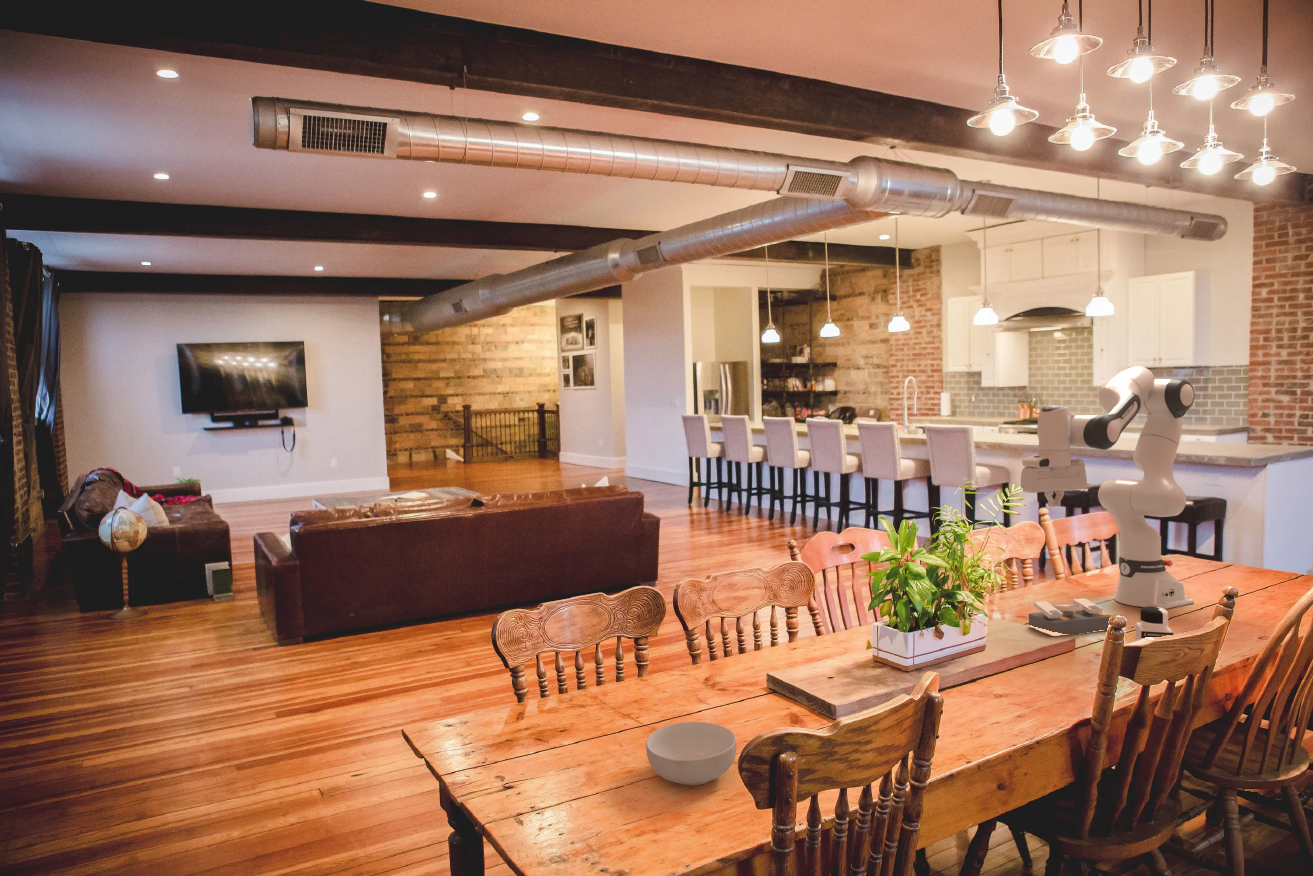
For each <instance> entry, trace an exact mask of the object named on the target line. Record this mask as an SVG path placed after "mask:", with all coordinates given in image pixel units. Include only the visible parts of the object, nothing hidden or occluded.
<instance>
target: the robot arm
mask: <svg viewBox="0 0 1313 876" xmlns="http://www.w3.org/2000/svg"><path fill="white" fill-rule="evenodd" d="M1195 395H1196V394H1195V389H1194V387H1193V384H1191V383H1190V381H1189V380H1187V379H1182V378H1155V376H1154V374H1153V372H1152V371H1151V370H1150V369H1148V368H1147V367H1145V366H1141V365H1135V366H1131V367H1128V368H1126V369H1124V370H1122V371H1120V372H1118V373H1117V374H1115V375H1113V376H1112V377H1111V378H1110V379H1108V380H1107V381H1105V383H1103V384H1102V385H1101V386H1100V389H1099V391H1098V400H1099V403H1100V405H1101V406H1102V408H1103V409H1104V410H1105V411H1106V412H1108V413H1107V414H1076V413H1075V412H1072V411H1071V410H1069V407H1068V405H1067V404H1062V403H1060V404H1059V403H1056V404H1048V405H1044V406H1043V407H1042V408H1040V410H1039V411H1038V417H1037V425H1036V426H1037V429H1036V430H1037V434H1036V435H1037V439H1038V446H1037V453H1035V454H1032V455H1030V456H1027V457H1025V458H1023V459H1022V460H1021V464H1022V466H1023V468H1022V470H1021V473H1020V489H1021V488H1023V490H1022V491H1023V492H1024V493H1028V494H1031V493H1033V494H1035V493H1044V496H1045V498H1046V500H1047V506H1048V507H1050V508H1051V507H1052V508H1053V507H1054V508H1055V507H1061V503H1062V502H1061V501H1062V499H1063V498H1064V495H1065V491H1079V490H1086V488H1087V486H1088V480H1087V472H1086V463H1085V462H1084V461H1083V460H1082V459H1081V458H1078V457H1077V458H1072V456H1071V452H1072V451H1071V449H1072V448H1085V449H1087V448H1088V449H1090V448H1091V449H1097V450H1102V451H1103V450H1105V451H1106V450H1109V449H1111V448H1112V447H1113V446H1115V444H1117V442H1118V441H1119V439H1120V437H1121V434H1122V433H1123V431H1124V430H1125V429H1126V428H1127V427H1128V426H1129V424H1130V423H1131V422H1132V421H1133V419H1134V418H1135V417H1136V416H1137V415H1138V414H1145V415H1146V417H1147V419H1146V421H1145V423H1144V424H1143V427H1142V429H1141V431H1140V434H1139V437H1138V440H1137V444H1136V446H1135V449H1134V452H1133V455H1132V460H1133V463H1134V465H1135V466H1136V467H1137V468H1138V469H1139V470H1141V471H1142V472H1144V473H1143V477H1142V479H1131V478H1114V479H1109V480H1108V479H1107V480H1105V481H1104V482H1103V483H1101V485H1100V486H1099V489H1098V493H1097V499H1098V501H1099V503H1100V505H1101V506H1102V508H1104V509H1105V510H1107V512H1108V513H1109V514H1110V515H1111V517H1112V518H1113V520H1114V522H1115V523H1116V528H1117V529H1118V530H1117V531H1118V533H1119V542H1120V543H1119V546H1120V556H1119V557H1118V569H1119V576H1118V580H1117V581H1118V582H1117V587H1116V588H1117V589H1116V592H1115V597H1114V601H1116V602H1117V603H1120V604H1124V605H1127V606H1134V607H1141V608H1143V607H1147V606H1153V607H1160V608H1163V609H1165V610H1167V609H1171V608H1177V607H1181V606H1186V605H1191V604H1194V603H1195V602H1194V599H1193V598H1191V597H1189V596H1186V595H1185V594H1186V593H1185V587H1184V584H1183V583H1182V582H1181V580H1179V579H1178V578H1176V577H1175V576H1173V575H1172V574H1171V573H1170V572H1168V571H1167V568H1166V566H1167V567H1169V568H1170V567H1172V565H1174V564H1173V563H1174V562H1173V561H1172V560H1171V559H1167V558H1166V559H1164V560H1163V558H1162V536H1161V534H1160V533H1159V531H1158V530H1157V529H1155V528H1153V527H1152V526H1151V525H1150V524H1149V522H1147V520H1146V518H1145V516H1149V517H1157V518H1164V517H1165V518H1167V517H1176V516H1178V515H1180V514H1181V513H1182V512H1183V511H1184V509H1185V507H1186V505H1187V495H1186V493H1185V491H1184V489H1183V488H1182V487H1181V486H1180V485H1179V484H1178V483H1177V481H1176V480H1175V478H1174V474H1173V473H1174V472H1173V468H1174V462H1175V460H1176V459H1175V458H1176V455H1177V451H1178V448H1179V445H1180V441H1181V436H1182V431H1183V430H1182V429H1183V420H1182V417H1184V415H1186V413H1187V412H1188V411H1189V410H1190V408H1191V407H1192V406H1193V403H1194V402H1195ZM1054 493H1055V494H1056V495H1055V497H1053V495H1054Z"/></svg>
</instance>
